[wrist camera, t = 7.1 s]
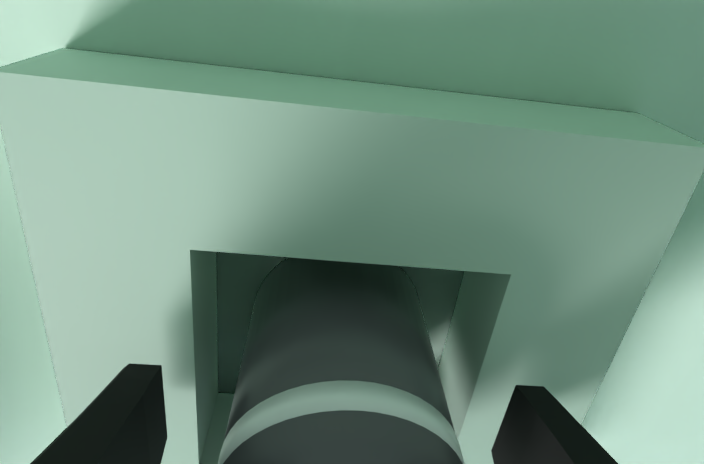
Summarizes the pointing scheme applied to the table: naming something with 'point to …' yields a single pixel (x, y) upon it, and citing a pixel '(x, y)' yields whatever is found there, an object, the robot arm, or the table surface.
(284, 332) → the lens
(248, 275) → the table surface
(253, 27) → the table surface
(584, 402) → the mount block
